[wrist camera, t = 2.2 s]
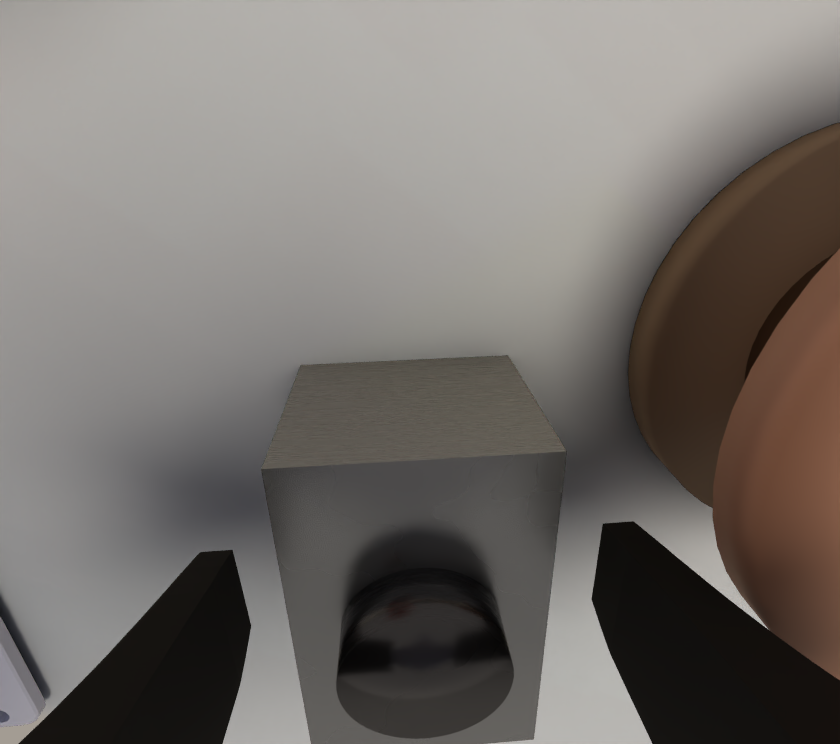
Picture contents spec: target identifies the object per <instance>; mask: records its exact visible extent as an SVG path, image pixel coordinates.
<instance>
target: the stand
mask: <svg viewBox="0 0 840 744" xmlns="http://www.w3.org/2000/svg"><path fill="white" fill-rule="evenodd" d="M628 378H629V394H630V399H631V404H632V408H633V413H634V416H635V419H636V421H637V424H638V426H639V429H640V431H641V434H642V436H643V437H644V439H645V441H646V442H647V444H648V445H649V447H650V449H651V450H652V451H653V453H654V454H655V455H656V456H657V457H658V458H659V459H660V461H661V462H662V463H663V464H664V465H665V466H666V467H667V468H668V470H669V471H670V472H671V473H672V474H673V475H674V476H675V477H676V478H677V480H678V481H679V482H680V483H681V484H682V485H683V486H684V487H685V489H686V490H688V491H689V492H690V493H691V494H693V495H694V496H695V497H696V498H698V499H699V500H700V501H701V502H703V503H705V504H707V505H708V506H710V507H712V508H713V523H714V529H715V535H716V541H717V547H718V550H719V552H720V555H721V558H722V561H723V563H724V566H725V569H726V572H727V573H728V575H729V577H730V578H731V580H732V581H733V583H734V585H735V586H736V588H737V590H738V591H739V593H740V594H741V596H742V597H743V598H744V599H745V600H746V602H747V603H748V604H749V605H750V607H751V608H752V609H753V610H754V612H755V613H756V614H757V615H758V617H759V618H760V619H761V620H762V622H763V623H764V624H765V625H766V627H767V628H768V629H769V630H770V631H771V632H772V633H774V634H775V635H776V636H778V637H779V638H780V639H782V640H783V641H785V642H786V643H787V644H789V645H790V646H791V647H793V648H794V649H796V650H797V651H798V652H800V653H801V654H802V655H804V656H805V657H807V658H808V659H809V660H811V661H812V662H814V663H815V664H817V665H818V666H820V667H821V668H822V669H824V670H825V671H827V672H828V673H830V674H831V675H833V676H834V677H836V678H837V679H839V680H840V123H836V124H833V125H830V126H828V127H825V128H823V129H820V130H818V131H815V132H812V133H810V134H807V135H805V136H802V137H801V138H799V139H797V140H795V141H793V142H791V143H789V144H787V145H785V146H784V147H782V148H780V149H778V150H776V151H774V152H772V153H771V154H769V155H768V156H767V157H765V158H764V159H762V160H761V161H759V162H758V163H756V164H755V165H753V166H752V167H750V168H749V169H747V170H746V171H744V172H743V173H742V174H741V175H740V176H738V177H737V178H736V179H735V180H734V181H732V182H731V183H730V184H729V185H728V186H727V187H725V188H724V189H723V190H722V191H721V192H719V193H718V194H717V195H716V196H715V197H714V198H713V199H712V200H711V201H710V202H709V204H708V205H707V206H706V207H705V208H704V209H703V210H702V211H701V212H700V213H699V214H698V215H697V216H696V217H695V218H694V219H693V221H692V222H691V223H690V224H689V226H688V227H687V228H686V229H685V231H684V232H683V233H682V235H681V236H680V237H679V238H678V240H677V241H676V242H675V243H674V245H673V247H672V248H671V250H670V251H669V253H668V255H667V256H666V258H665V259H664V261H663V262H662V264H661V266H660V267H659V269H658V271H657V273H656V275H655V277H654V279H653V281H652V283H651V285H650V287H649V289H648V291H647V293H646V295H645V297H644V300H643V303H642V306H641V309H640V312H639V315H638V317H637V320H636V323H635V328H634V333H633V337H632V342H631V346H630V356H629V368H628Z"/></svg>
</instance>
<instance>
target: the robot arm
mask: <svg viewBox="0 0 840 744" xmlns="http://www.w3.org/2000/svg"><path fill="white" fill-rule="evenodd" d="M592 602H593V605H594V608H595V611H596V614H597V617H598V620H599V623H600V626H601V629H602V632H603V635H604V637H605V640H606V643H607V646H608V649H609V651H610V654H611V656H612V658H613V660H614V663H615V665H616V667H617V669H618V671H619V673H620V676H621V678H622V680H623V682H624V684H625V686H626V688H627V691H628V693H629V695H630V697H631V699H632V701H633V703H634V705H635V708H636V710H637V712H638V714H639V716H640V718H641V720H642V722H643V724H644V727H645V729H646V731H647V733H648V735H649V737H650V739H651V741H652V743H653V744H840V680H839V679H837V678H836V677H834V676H833V675H831V674H830V673H828V672H827V671H825V670H824V669H822V668H821V667H820V666H818V665H817V664H815V663H814V662H812V661H811V660H809V659H808V658H807V657H805V656H804V655H802V654H801V653H800V652H798V651H797V650H796V649H794V648H793V647H791V646H790V645H789V644H787V643H786V642H785V641H783V640H782V639H780V638H779V637H778V636H776V635H775V634H774V633H772V632H771V631H769V630H768V629H767V628H765V627H764V626H763V625H761V624H760V623H759V622H757V621H756V620H755V619H753V618H752V617H751V616H750V615H748V614H747V613H746V612H744V611H743V610H742V609H740V608H739V607H738V606H737V605H735V604H734V603H733V602H731V601H730V600H729V599H728V598H726V597H725V596H724V595H723V594H721V593H720V592H719V591H718V590H716V589H715V588H714V587H713V586H711V585H710V584H709V583H708V582H706V581H705V580H704V579H703V578H701V577H700V576H699V575H698V574H697V573H695V572H694V571H693V570H692V569H690V568H689V567H688V566H687V565H686V564H684V563H683V562H682V561H681V560H680V559H678V558H677V557H676V556H675V555H674V554H672V553H671V552H670V551H669V550H668V549H666V548H665V547H664V546H663V545H662V544H660V543H659V542H658V541H657V540H656V539H654V538H653V537H652V536H651V535H650V534H648V533H647V532H646V531H645V530H643V529H642V528H641V527H640V526H638V525H637V524H636V523H635V522H619V523H605V524H603V527H602V533H601V540H600V547H599V554H598V560H597V567H596V574H595V581H594V587H593V594H592ZM250 629H251V623H250V619H249V615H248V611H247V607H246V603H245V599H244V595H243V591H242V587H241V583H240V578H239V574H238V570H237V566H236V562H235V558H234V554H233V550H226V551H212V552H200V553H199V554H198V555H197V556H196V557H195V558H194V560H193V561H192V562H191V563H190V564H189V565H188V566H187V567H186V568H185V569H184V571H183V572H182V573H181V574H180V575H179V576H178V577H177V578H176V580H175V581H174V582H173V583H172V584H171V585H170V586H169V588H168V589H167V590H166V591H165V592H164V593H163V594H162V595H161V597H160V598H159V599H158V600H157V601H156V602H155V603H154V604H153V606H152V607H151V608H150V609H149V610H148V611H147V612H146V613H145V615H144V616H143V617H142V618H141V619H140V620H139V621H138V622H137V623H136V624H135V626H134V627H133V628H132V629H131V630H130V631H129V632H128V633H127V634H126V635H125V636H124V637H123V639H122V640H121V641H120V642H119V643H118V644H117V645H116V646H115V647H114V648H113V649H112V651H111V652H110V653H109V654H108V655H107V656H106V657H105V658H104V659H103V660H102V661H101V662H100V663H99V664H98V665H97V666H96V668H95V669H94V670H93V671H92V672H91V673H90V674H89V675H88V676H87V677H86V678H85V679H84V680H83V681H82V682H81V683H80V684H79V685H78V686H77V687H76V688H75V689H74V690H73V691H72V692H71V693H70V694H69V695H68V696H67V697H66V698H65V699H64V700H63V701H62V702H61V703H60V704H59V705H58V706H57V707H56V708H55V709H54V710H53V711H52V712H51V713H50V714H49V715H48V716H47V717H46V718H45V719H44V720H43V721H42V722H41V723H40V724H39V725H38V726H37V727H36V728H35V729H33V730H32V731H31V732H30V733H29V734H28V735H27V736H26V737H25V738H24V739H23V740H22V741H21V742H20V743H19V744H222V743H223V740H224V737H225V733H226V730H227V727H228V723H229V720H230V717H231V713H232V710H233V707H234V703H235V700H236V697H237V693H238V690H239V686H240V683H241V678H242V673H243V668H244V663H245V658H246V652H247V646H248V641H249V635H250ZM45 705H46V704H45V700H44V698H43V696H42V694H41V692H40V690H39V688H38V686H37V684H36V682H35V681H34V679H33V677H32V675H31V673H30V671H29V669H28V667H27V665H26V664H25V662H24V660H23V658H22V656H21V654H20V652H19V650H18V649H17V647H16V645H15V643H14V641H13V639H12V637H11V635H10V633H9V632H8V630H7V628H6V626H5V624H4V622H3V620H2V618H1V616H0V727H7V726H18V725H25V724H30V723H33V722H34V721H36V720H37V719H38V717H39V716H40V714H41V712H42V711H43V709H44V707H45Z"/></svg>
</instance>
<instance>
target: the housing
mask: <svg viewBox="0 0 840 744" xmlns="http://www.w3.org/2000/svg"><path fill="white" fill-rule="evenodd" d="M566 454H567V451H566V450H565V448H564V446H563V445H562V443H561V441H560V440H559V438H558V436H557V435H556V433H555V431H554V430H553V428H552V427H551V425H550V423H549V422H548V420H547V418H546V417H545V415H544V413H543V412H542V410H541V409H540V407H539V405H538V404H537V402H536V400H535V399H534V397H533V395H532V394H531V392H530V391H529V389H528V387H527V386H526V384H525V382H524V381H523V379H522V377H521V376H520V374H519V373H518V371H517V369H516V368H515V366H514V364H513V363H512V361H511V359H510V358H509V356H508V355H506V356H485V357H464V358H443V359H421V360H400V361H379V362H358V363H337V364H315V365H301V366H300V369H299V371H298V374H297V377H296V379H295V382H294V385H293V387H292V390H291V392H290V395H289V398H288V400H287V403H286V405H285V408H284V411H283V413H282V416H281V419H280V421H279V424H278V426H277V429H276V432H275V434H274V437H273V440H272V442H271V445H270V447H269V450H268V453H267V455H266V458H265V460H264V463H263V466H262V468H261V471H262V476H263V482H264V487H265V493H266V498H267V504H268V509H269V515H270V520H271V526H272V531H273V537H274V542H275V548H276V553H277V559H278V564H279V570H280V575H281V581H282V586H283V592H284V597H285V603H286V608H287V614H288V619H289V625H290V630H291V636H292V641H293V647H294V652H295V658H296V663H297V669H298V674H299V680H300V685H301V691H302V696H303V702H304V707H305V713H306V718H307V724H308V729H309V735H310V740H311V744H486V743H498V742H509V741H520V740H532V739H534V733H535V724H536V716H537V707H538V698H539V690H540V681H541V672H542V663H543V655H544V646H545V637H546V628H547V620H548V611H549V602H550V594H551V585H552V576H553V567H554V559H555V550H556V541H557V532H558V524H559V515H560V506H561V498H562V489H563V480H564V471H565V463H566Z"/></svg>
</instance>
